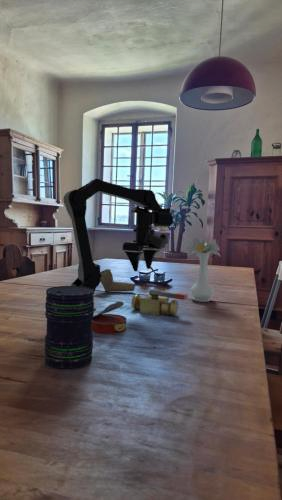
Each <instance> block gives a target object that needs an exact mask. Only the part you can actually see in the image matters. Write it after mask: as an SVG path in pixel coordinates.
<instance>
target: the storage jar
mask: <svg viewBox="0 0 282 500" xmlns="http://www.w3.org/2000/svg"><path fill="white" fill-rule="evenodd" d="M94 294H95V292H94V289H92V288H89V287H83V286H71V285H58V286H52V287H49V288H47V289H46V291H45V295H46V296H45V303H44V304H45V305H44V308H45V313H44V315H45V319H46V333H45V336H44V352H45V353H44V357H45V358H44V363H45V366H47V367H48V368H50V369H52V370H58V371H73V370H74V371H75V370H79V369H83V368H85V367H88V366H90V365H91V363H92V361H93V357H92V355H93V349H94V342H93V341H94V335H93V333H92V332H93V331H92V317H93V316H94V313H95V312H94V311H93V308H95V299H94Z"/></svg>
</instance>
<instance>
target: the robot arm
mask: <svg viewBox="0 0 282 500" xmlns="http://www.w3.org/2000/svg"><path fill="white" fill-rule="evenodd" d="M98 193H99V194H102V195H106V196H107V195H108V196H111V197H114V198H118V199H122V200H125V201H127V202H129V203H130V204H132V205H134V208H133V209H131V210H130V213H131V214H136V215H135V217H136V218H135V228H133V231H132V232H134V233H135V239H133V240H132V241H124V242H123V243H122V247H121V249H122V251H124V253H125V254H126V256H127V258H128V260H129V262H130V265H131V267H132V269H133V271H134V272H138V270H139V265H140V264H139V263H140V257H141V255H142V254H143V256H144V262H145V266H146V269H147V270H150V269H151V267H152V263H153V261H154V259H155V255H156V254H158V253H159V252H160V251H161V250H162V249H164V248H166V245H167V244H169V241H168V235H167V234H165V233H161V234H160V235H159V234H155V233H156V231H155V229H153V226H154V227H155V228H156V227H158V228H159V227H161V228H170V227H171V226H172V224H173V223H174V217H173V214H172V213H171V208H162V207H161V205H160V204H159V202H158V200H157V198H156V194H155V192H154V191H153V190H151V189H142V188H141V189H140V188H138V189H137V188H130V187H126V186H123V185H120V184H119V185H118V184H115V183H112V182H108V181H105V180H102V179H100V178H94V179H92V180H90V181H89V182H87V183H86V184H85V185H83V186H81V187H79V188H78V189H73V190H70V191H67V192H66V193H65V194H64V196H63V198H62V199H63V203H64V207H65V210H66V212H67V214H68V216H69V218H70V220H71V225H72V229H73V235H74V241H75V246H76V250H77V255H78V256H77V257H78V266H77V267H78V268H77V278H76V279H75V280H74V281H72V283H71V284H70V286H83V287H89V288H92V289H94V293H95V291H96V289H97V288H98V287H99V285H100V283H101V282H100V281H101V279H100V277H102V275H101V273H100V272H101V265H100V264H97V263H95V262H94V260H93V254H92V250H91V243H90V239H89V238H90V237H89V233H88V228H87V222H86V213H87V200H89V199H90V198H92V197H93V196H94V195H95V194H98ZM96 310H97V309H96V308H95V307H94V308H93V312H94V311H96Z"/></svg>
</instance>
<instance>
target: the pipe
mask: <svg viewBox="0 0 282 500" xmlns="http://www.w3.org/2000/svg"><path fill="white" fill-rule="evenodd" d="M100 273H101V275H102V277H100V279H101V281H100V283H101V285H102V287H103V289H104V293H112V292H113V293H121V292H122V293H123V292H134V290H135V288H136V283H131V282H123V281H114V277H113V273H112V271H111V269H110V268H106V269H104V270H101V271H100Z"/></svg>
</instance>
